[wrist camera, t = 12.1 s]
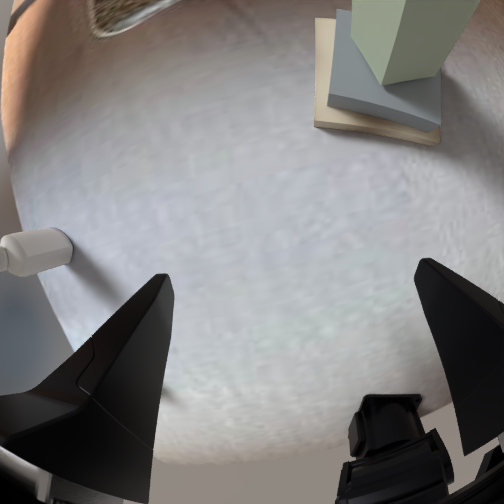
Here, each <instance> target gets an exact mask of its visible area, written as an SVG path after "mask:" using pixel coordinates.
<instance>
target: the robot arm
mask: <svg viewBox="0 0 504 504" xmlns="http://www.w3.org/2000/svg"><path fill="white" fill-rule="evenodd" d="M414 282H415V285H416V288H417V291H418V294H419V298H420V301H421V304H422V308H423V311H424V314H425V317H426V320H427V322H428V325H429V327H430V330H431V333H432V336H433V338H434V341H435V344H436V347H437V350H438V353H439V356H440V359H441V362H442V365H443V368H444V371H445V375H446V378H447V382H448V385H449V389H450V392H451V396H452V400H453V404H454V408H455V413H456V417H457V422H458V426H459V431H460V437H461V442H462V448H463V453H464V456H466V455H468V454H470V453H471V452H473V451H475V450H476V449H478V448H480V447H481V446H483V445H485V444H486V443H488V442H489V441H491V440H493V439H494V438H496V437H498V440H499V443H500V444H499V445H498V446H496V447H495V448H494V449H492V450H490V451H489V452H487V453H486V454H485V455H484V458H483V461H482V463H481V466H480V468H479V471H478V473H477V476H476V478H475V480H474V481H473V482H471V483H469V484H468V485H466V486H464V487H463V488H461V489H459V490H458V491H456V492H454V493H452V494H450V495H449V492H448V485H449V484H451V483H453V482H454V472H453V467H452V463H451V459H450V456H449V453H448V451H447V449H446V447H445V445H444V443H443V441H442V439H441V438H440V436H439V434H438V432H437V430H436V428H434V429H432V430H430V432H428V433H426V434H425V431H424V428H423V426H422V423H421V420H420V418H419V415H418V412H417V409H418V407H419V405H420V403H421V401H422V397H421V395H420V394H412V395H370V394H369V395H366V396H364V397H363V400H362V402H361V405H360V408H359V410H358V412H356V413H355V414H354V416H353V419H352V421H351V424H350V426H349V429H348V430H349V434H348V438H349V443H350V455H351V456H352V457H356V460H355V461H351V462H349V461H348V462H345V463H343V468H342V470H341V475H340V481H339V487H338V492H337V498H336V500H335V504H504V304H503V303H502V302H500V301H498V300H497V299H496V298H494V297H493V296H491V295H490V294H488V293H487V292H485V291H484V290H482V289H481V288H479V287H478V286H476V285H475V284H473V283H471V282H470V281H468V280H467V279H465V278H463V277H462V276H460V275H459V274H457V273H455V272H454V271H452V270H450V269H449V268H447V267H445V266H444V265H442V264H440V263H439V262H437V261H435V260H433V259H432V258H422V259H421V260H420V261H419V264H418V267H417V270H416V272H415V275H414ZM173 308H174V291H173V287H172V284H171V280H170V277H169V275H168V274H166V273H164V274H156V275H154V276H153V277H152V278H151V279H150V280H149V281H148V282H147V283H146V284H145V285H144V286H143V287H142V288H140V289H139V290H138V291H137V292H136V293H135V294H134V295H133V296H132V297H131V298H130V299H129V300H128V301H127V302H126V303H125V304H124V305H123V306H121V307H120V308H119V309H118V310H117V311H116V312H115V313H114V314H113V315H112V316H111V317H110V318H109V319H108V320H107V321H106V322H105V323H104V324H103V325H102V326H101V327H100V328H99V329H98V330H97V331H96V332H95V333H94V334H93V335H92V337H90V338H89V339H88V340H87V341H86V342H85V343H84V344H83V345H82V346H81V347H80V348H79V349H78V350H77V351H76V352H75V353H74V354H73V355H72V356H70V357H69V358H68V359H67V360H66V361H65V362H64V363H63V364H61V365H60V366H59V367H58V368H57V369H56V370H55V371H53V372H52V373H51V374H50V375H49V376H48V377H47V378H46V379H44V380H43V381H42V382H41V383H40V384H39V385H38V386H36V387H35V388H33V389H31V390H29V391H26V392H23V393H17V394H10V395H2V396H0V504H123V499H125V500H130V501H134V502H138V503H143V504H148V502H149V490H150V479H151V468H152V458H153V448H154V440H155V433H156V425H157V418H158V411H159V404H160V398H161V391H162V385H163V379H164V373H165V368H166V362H167V357H168V351H169V346H170V340H171V332H172V320H173ZM367 399H369V400H367ZM416 399H417V400H416Z"/></svg>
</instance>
